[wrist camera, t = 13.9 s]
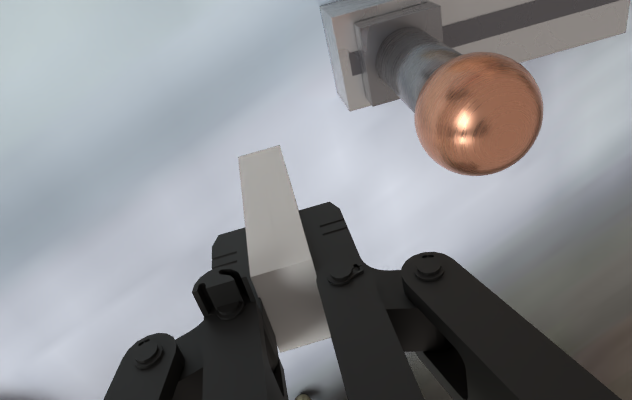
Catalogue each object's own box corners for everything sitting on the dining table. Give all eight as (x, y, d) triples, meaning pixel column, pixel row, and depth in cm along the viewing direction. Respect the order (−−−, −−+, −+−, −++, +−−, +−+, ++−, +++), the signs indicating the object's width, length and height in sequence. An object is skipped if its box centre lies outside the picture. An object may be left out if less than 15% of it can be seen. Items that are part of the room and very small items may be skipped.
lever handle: (348, 20, 24) (438, 95, 15) (434, -4, 24) (576, 56, 15) (363, 102, 26) (447, 213, 17) (441, 80, 26) (566, 177, 17)
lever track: (319, 6, 26) (331, 18, 24) (598, -71, 27) (639, -68, 24) (337, 93, 29) (349, 111, 26) (590, 21, 30) (626, 32, 27)
